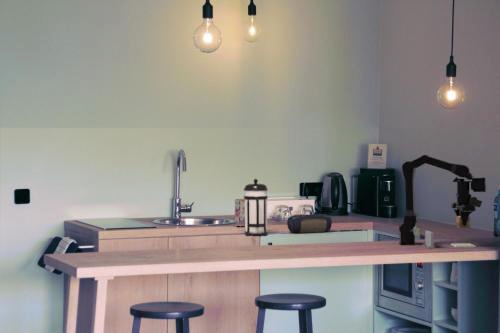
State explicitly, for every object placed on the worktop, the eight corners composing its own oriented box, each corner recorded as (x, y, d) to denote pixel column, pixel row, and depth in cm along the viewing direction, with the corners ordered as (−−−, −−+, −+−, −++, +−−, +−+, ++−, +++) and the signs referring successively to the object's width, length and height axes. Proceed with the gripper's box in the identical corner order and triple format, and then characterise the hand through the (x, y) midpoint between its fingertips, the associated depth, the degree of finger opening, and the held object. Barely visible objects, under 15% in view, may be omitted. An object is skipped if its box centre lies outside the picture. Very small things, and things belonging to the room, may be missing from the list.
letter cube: (459, 227, 377) (459, 216, 377) (456, 226, 382) (456, 215, 382) (470, 227, 377) (470, 216, 377) (466, 226, 382) (466, 215, 382)
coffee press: (234, 235, 432) (234, 179, 431) (256, 232, 443) (255, 178, 443) (257, 237, 420) (257, 179, 419) (279, 235, 431) (278, 178, 430)
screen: (429, 248, 373) (429, 233, 373) (423, 245, 384) (423, 230, 384) (435, 248, 374) (435, 232, 373) (429, 245, 385) (429, 230, 384)
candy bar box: (239, 227, 473) (239, 199, 472) (234, 227, 477) (234, 199, 476) (254, 226, 480) (254, 198, 479) (249, 225, 484) (248, 198, 483)
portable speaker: (292, 234, 435) (292, 216, 434) (285, 232, 444) (285, 214, 444) (335, 232, 443) (335, 214, 443) (327, 230, 452) (327, 213, 452)
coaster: (456, 247, 375) (456, 245, 375) (451, 245, 384) (451, 243, 384) (475, 247, 375) (475, 245, 375) (469, 245, 384) (469, 243, 384)
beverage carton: (404, 239, 411) (404, 226, 411) (398, 235, 431) (398, 222, 430) (420, 239, 411) (420, 226, 411) (413, 235, 430) (413, 222, 430)
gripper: (486, 192, 370) (486, 227, 370) (474, 190, 388) (474, 223, 389) (462, 193, 369) (462, 227, 370) (451, 190, 388) (451, 223, 388)
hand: (463, 225), depth 379 cm, fingers closed on letter cube, 5 cm apart
